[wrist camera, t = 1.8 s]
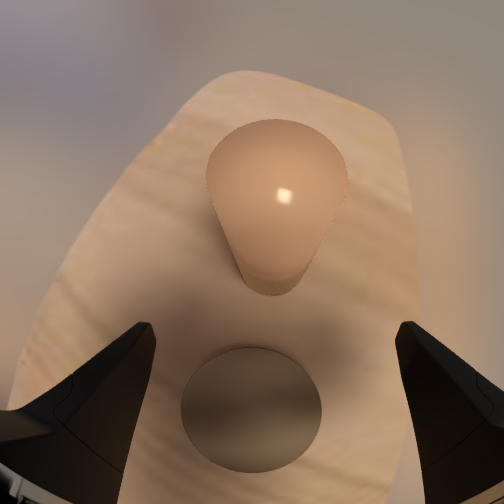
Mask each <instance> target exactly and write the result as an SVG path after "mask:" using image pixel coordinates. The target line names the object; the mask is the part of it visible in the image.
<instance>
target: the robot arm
mask: <svg viewBox="0 0 504 504" xmlns="http://www.w3.org/2000/svg"><path fill="white" fill-rule="evenodd" d="M395 345H396V350H397V356H398V361H399V367H400V373H401V378H402V382H403V386H404V390H405V393H406V397H407V401H408V405H409V409H410V414H411V418H412V422H413V427H414V432H415V436H416V441H417V447H418V452H419V458H420V463H421V470H422V479H423V486H424V495H425V504H504V391H502V390H501V389H500V388H498V387H497V386H495V385H494V384H493V383H491V382H490V381H489V380H487V379H486V378H485V377H484V376H482V375H481V374H480V373H479V372H477V371H476V370H475V369H474V368H473V367H471V366H470V365H469V364H468V363H466V362H465V361H464V360H462V359H461V358H460V357H459V356H458V355H456V354H455V353H454V352H452V351H451V350H450V349H449V348H447V347H446V346H445V345H444V344H442V343H441V342H439V341H438V340H437V339H436V338H434V337H433V336H432V335H431V334H429V333H428V332H426V331H425V330H424V329H423V328H421V327H420V326H419V325H417V324H416V323H415V322H413V321H405V322H402V323H401V325H400V328H399V331H398V333H397V335H396V338H395ZM155 348H156V337H155V334H154V331H153V328H152V325H151V324H150V323H149V322H138V323H137V324H135V325H134V326H133V327H132V328H130V329H129V330H128V331H126V332H125V333H124V334H122V335H121V336H120V337H118V338H117V339H116V340H115V341H113V342H112V343H111V344H109V345H108V346H107V347H105V348H104V349H103V350H102V351H100V352H99V353H98V354H96V355H95V356H94V357H92V358H91V359H90V360H89V361H87V362H86V363H85V364H83V365H82V366H81V367H80V368H78V369H77V370H76V371H74V372H73V374H70V375H69V376H68V377H67V378H65V379H64V380H63V381H61V382H60V383H59V384H57V385H56V386H55V387H53V388H52V389H50V390H49V391H47V392H46V393H44V394H42V395H41V396H39V397H38V398H36V399H35V400H33V401H31V402H30V403H28V404H27V405H25V406H23V407H22V408H19V409H16V410H11V411H4V410H2V411H1V410H0V504H117V501H118V496H119V491H120V487H121V482H122V478H123V473H124V469H125V465H126V461H127V457H128V453H129V449H130V445H131V441H132V437H133V434H134V430H135V426H136V423H137V419H138V416H139V412H140V409H141V405H142V402H143V399H144V395H145V392H146V389H147V385H148V382H149V378H150V373H151V368H152V363H153V358H154V353H155Z"/></svg>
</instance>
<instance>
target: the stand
mask: <svg viewBox="0 0 504 504" xmlns="http://www.w3.org/2000/svg"><path fill="white" fill-rule="evenodd" d="M321 413H322V408H321V400H320V397H319V393H318V391H317V389H316V386H315V384H314V383H313V381H312V380H311V378H310V377H309V376H308V374H307V373H306V372H305V371H304V370H303V369H302V368H301V367H300V366H299V365H297V364H296V363H295V362H294V361H292V360H291V359H290V358H288V357H286V356H284V355H282V354H280V353H278V352H275V351H272V350H268V349H263V348H241V349H236V350H232V351H229V352H226V353H224V354H221V355H219V356H216V357H215V358H213V359H211V360H209V361H208V362H206V363H205V364H204V365H202V366H201V367H200V368H199V369H198V370H197V371H196V372H195V374H194V375H193V376H192V377H191V379H190V380H189V382H188V384H187V386H186V388H185V391H184V394H183V398H182V404H181V416H182V421H183V425H184V428H185V431H186V433H187V435H188V437H189V439H190V441H191V442H192V444H193V445H194V446H195V447H196V449H197V450H198V451H199V452H200V453H201V454H202V455H204V456H205V457H206V458H207V459H209V460H210V461H212V462H213V463H215V464H217V465H219V466H221V467H224V468H227V469H229V470H233V471H237V472H245V473H260V472H267V471H272V470H275V469H278V468H281V467H283V466H285V465H287V464H289V463H291V462H293V461H294V460H296V459H297V458H298V457H299V456H301V455H302V454H303V453H304V452H305V451H306V450H307V449H308V448H309V446H310V445H311V443H312V442H313V441H314V439H315V437H316V435H317V433H318V430H319V427H320V422H321Z"/></svg>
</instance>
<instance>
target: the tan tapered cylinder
mask: <svg viewBox="0 0 504 504" xmlns="http://www.w3.org/2000/svg"><path fill="white" fill-rule="evenodd" d="M206 185H207V189H208V193H209V196H210V198H211V201H212V203H213V206H214V208H215V211H216V213H217V216H218V218H219V221H220V223H221V226H222V228H223V231H224V233H225V236H226V238H227V241H228V243H229V246H230V248H231V250H232V253H233V255H234V258H235V260H236V263H237V265H238V268H239V270H240V272H241V275H242V277H243V279H244V281H245V282H246V284H247V285H248V286H249V287H250V288H251V289H253V290H254V291H256V292H258V293H260V294H262V295H267V296H278V295H282V294H285V293H287V292H289V291H291V290H292V289H293V288H295V287H296V286H297V284H298V283H299V282H300V280H301V279H302V277H303V275H304V273H305V272H306V270H307V268H308V266H309V265H310V263H311V261H312V259H313V257H314V256H315V254H316V252H317V250H318V248H319V247H320V245H321V243H322V241H323V239H324V238H325V236H326V234H327V232H328V230H329V228H330V226H331V225H332V223H333V221H334V219H335V217H336V215H337V213H338V211H339V209H340V207H341V206H342V203H343V201H344V199H345V197H346V193H347V188H348V173H347V168H346V165H345V162H344V159H343V158H342V156H341V154H340V152H339V151H338V149H337V148H336V147H335V145H334V144H333V143H332V142H331V141H330V140H329V139H328V138H326V137H325V136H324V135H323V134H321V133H320V132H318V131H317V130H315V129H313V128H311V127H309V126H306V125H304V124H301V123H297V122H294V121H288V120H278V119H274V120H262V121H257V122H253V123H250V124H247V125H244V126H242V127H240V128H238V129H236V130H234V131H233V132H231V133H230V134H228V135H227V136H226V137H225V138H224V139H223V140H222V141H221V142H220V143H219V144H218V145H217V146H216V148H215V149H214V151H213V153H212V154H211V156H210V159H209V161H208V165H207V169H206Z"/></svg>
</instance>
